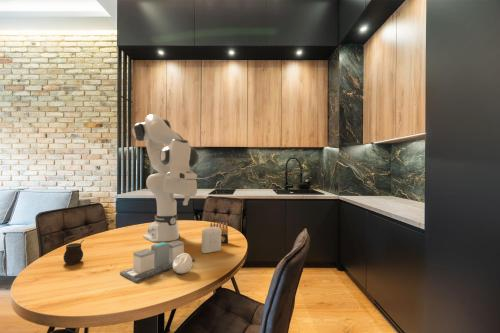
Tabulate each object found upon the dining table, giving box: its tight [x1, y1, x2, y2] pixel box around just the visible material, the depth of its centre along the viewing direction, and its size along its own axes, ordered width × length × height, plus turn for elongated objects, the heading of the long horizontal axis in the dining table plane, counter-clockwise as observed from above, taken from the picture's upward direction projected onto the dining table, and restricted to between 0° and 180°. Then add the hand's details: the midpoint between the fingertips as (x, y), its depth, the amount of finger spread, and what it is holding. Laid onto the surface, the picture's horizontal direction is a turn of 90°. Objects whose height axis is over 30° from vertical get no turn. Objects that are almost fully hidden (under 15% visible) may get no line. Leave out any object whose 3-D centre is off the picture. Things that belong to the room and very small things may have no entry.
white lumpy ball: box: [172, 252, 193, 275], centre depth 103 cm, size 8×8×8 cm
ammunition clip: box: [210, 221, 229, 245], centre depth 144 cm, size 11×2×12 cm, turn 83°
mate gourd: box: [63, 239, 85, 265], centre depth 111 cm, size 7×8×10 cm
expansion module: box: [150, 241, 169, 267], centre depth 108 cm, size 4×6×8 cm, turn 144°
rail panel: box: [119, 257, 195, 284], centre depth 108 cm, size 12×28×2 cm, turn 144°
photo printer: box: [201, 226, 222, 254], centre depth 129 cm, size 10×4×12 cm, turn 123°
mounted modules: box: [132, 240, 185, 273], centre depth 108 cm, size 5×21×7 cm, turn 144°
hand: (178, 203), depth 117 cm, fingers open, 8 cm apart
